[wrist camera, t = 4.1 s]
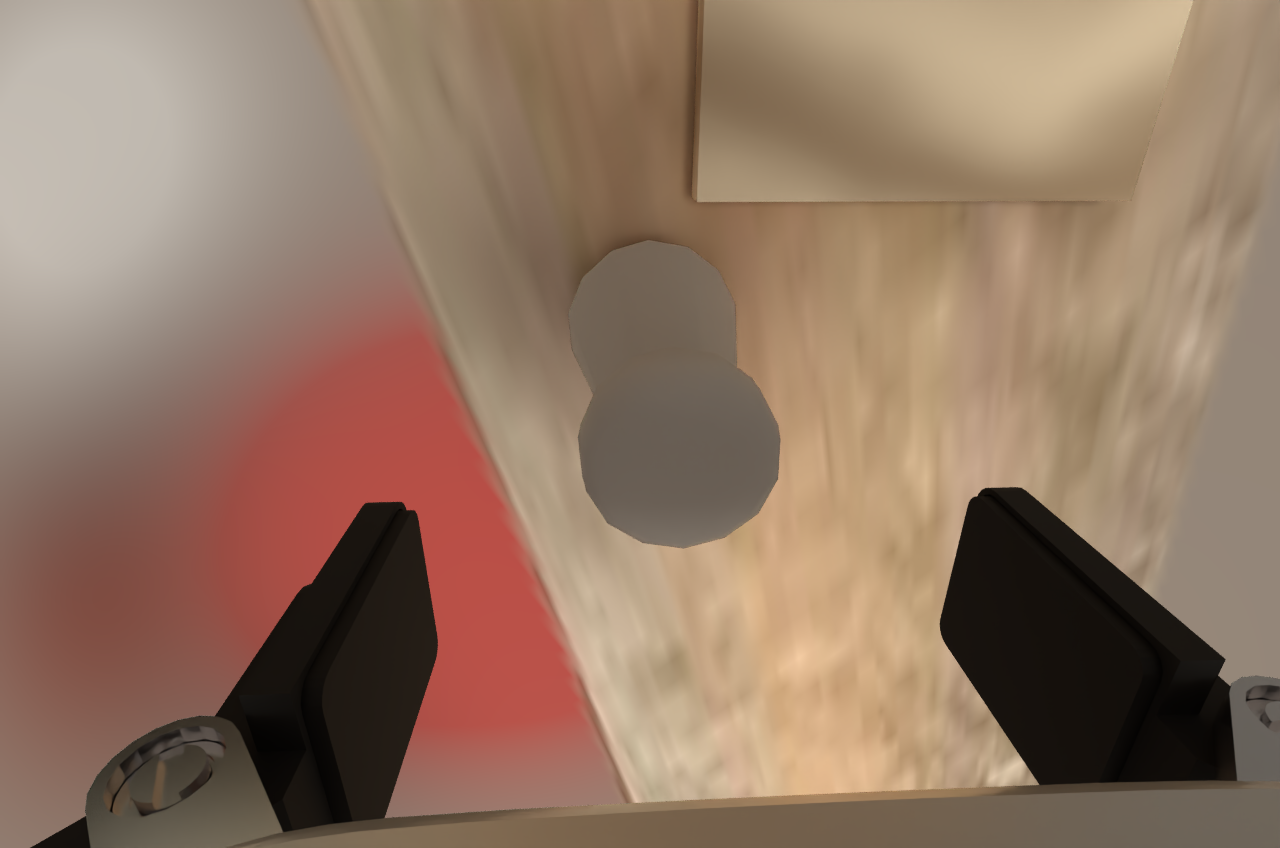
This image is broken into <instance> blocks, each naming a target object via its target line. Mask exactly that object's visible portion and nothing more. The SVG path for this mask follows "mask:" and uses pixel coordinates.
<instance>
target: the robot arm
mask: <svg viewBox="0 0 1280 848" xmlns="http://www.w3.org/2000/svg"><path fill="white" fill-rule="evenodd" d="M940 631H941V635H942V638H943V640H944V642H945V644H946V646H947V647H948V649H949V650H950V652H951V653H952V655H953V656H954V658H955V659H956V661H957V662H958V664H959V665H960V667H961V668H962V670H963V671H964V672H965V674H966V675H967V677H968V678H969V680H970V681H971V683H972V684H973V686H974V687H975V689H976V690H977V692H978V693H979V695H980V696H981V698H982V699H983V701H984V702H985V704H986V705H987V707H988V708H989V710H990V711H991V713H992V714H993V716H994V717H995V719H996V720H997V722H998V723H999V725H1000V726H1001V728H1002V729H1003V731H1004V732H1005V734H1006V735H1007V737H1008V738H1009V740H1010V741H1011V743H1012V744H1013V746H1014V747H1015V749H1016V750H1017V752H1018V753H1019V755H1020V756H1021V758H1022V759H1023V761H1024V762H1025V764H1026V765H1027V767H1028V768H1029V770H1030V771H1031V773H1032V774H1033V776H1034V777H1035V779H1036V780H1037V782H1038V783H1039V785H1030V786H1005V787H979V788H954V789H928V790H905V791H882V792H859V793H837V794H814V795H792V796H770V797H749V798H727V799H705V800H685V801H666V802H646V803H626V804H607V805H588V806H568V807H548V808H529V809H512V810H496V811H483V812H482V811H481V812H466V813H452V814H438V815H423V816H408V817H393V818H385V815H386V812H387V809H388V806H389V803H390V799H391V796H392V793H393V790H394V787H395V784H396V781H397V778H398V775H399V772H400V769H401V765H402V762H403V759H404V756H405V753H406V750H407V747H408V744H409V741H410V738H411V735H412V731H413V728H414V725H415V722H416V719H417V716H418V713H419V710H420V707H421V704H422V700H423V698H424V695H425V691H426V688H427V685H428V682H429V679H430V676H431V673H432V670H433V667H434V663H435V660H436V656H437V648H438V639H437V632H436V625H435V619H434V613H433V608H432V601H431V594H430V588H429V582H428V576H427V570H426V564H425V558H424V552H423V545H422V539H421V533H420V527H419V521H418V516H417V513H416V512H415V511H414V510H406V507H405V505H404V504H403V503H402V502H379V503H378V502H377V503H365V504H364V505H363V506H362V508H361V509H360V511H359V513H358V514H357V516H356V517H355V519H354V520H353V522H352V523H351V525H350V526H349V528H348V529H347V531H346V532H345V534H344V535H343V537H342V538H341V540H340V541H339V543H338V544H337V546H336V548H335V549H334V551H333V552H332V554H331V555H330V557H329V558H328V560H327V561H326V563H325V564H324V566H323V567H322V569H321V571H320V572H319V573H318V575H317V576H316V578H315V579H314V581H313V583H312V584H309V585H307V586H304V587H303V588H302V589H301V590H300V591H299V592H298V594H297V595H296V597H295V598H294V600H293V601H292V602H291V604H290V605H289V607H288V609H287V610H286V611H285V613H284V614H283V616H282V617H281V619H280V620H279V622H278V623H277V625H276V626H275V628H274V629H273V631H272V632H271V634H270V635H269V637H268V638H267V640H266V641H265V643H264V644H263V646H262V647H261V648H260V650H259V652H258V653H257V654H256V656H255V657H254V659H253V660H252V662H251V663H250V665H249V666H248V668H247V670H246V671H245V672H244V674H243V675H242V677H241V678H240V680H239V681H238V683H237V684H236V686H235V687H234V689H233V690H232V692H231V693H230V695H229V696H228V698H227V699H226V700H225V702H224V703H223V705H222V706H221V708H220V710H219V711H218V713H217V714H216V715H215V716H196V717H190V718H185V719H181V720H177V721H174V722H172V723H169V724H166V725H164V726H161V727H159V728H156V729H154V730H152V731H151V732H149V733H147V734H145V735H144V736H142V737H140V738H138V739H137V740H135V741H133V742H132V743H131V744H129V745H128V746H127V747H126V748H124V749H123V750H122V751H120V752H119V753H118V754H117V755H115V756H114V757H113V758H112V759H111V760H110V761H109V762H108V764H107V765H106V766H105V767H104V768H103V769H102V770H101V772H100V773H99V774H98V775H97V776H96V778H95V780H94V782H93V784H92V786H91V788H90V790H89V791H88V793H87V799H86V807H85V813H86V816H85V817H84V818H82V819H80V820H78V821H77V822H75V823H73V824H71V825H70V826H68V827H66V828H64V829H63V830H61V831H59V832H57V833H55V834H54V835H52V836H50V837H48V838H47V839H45V840H43V841H41V842H40V843H38V844H36V845H35V846H33V847H31V848H1280V679H1278V678H1271V677H1263V676H1249V677H1241V678H1240V679H1238V680H1237V681H1235V682H1233V683H1232V684H1231V686H1229V685H1228V684H1227V683H1226V682H1225V681H1224V680H1222V679H1221V678H1220V677H1219V676H1218V674H1219V672H1220V670H1221V668H1222V666H1223V664H1224V662H1225V659H1224V658H1223V657H1222V656H1221V655H1220V654H1219V653H1217V652H1216V651H1215V650H1214V649H1213V648H1211V647H1210V646H1209V645H1208V644H1207V643H1206V642H1204V641H1203V640H1202V639H1201V638H1200V637H1198V636H1197V635H1196V634H1195V633H1194V632H1193V631H1191V630H1190V629H1189V628H1188V627H1187V626H1185V625H1184V624H1183V623H1182V622H1181V621H1179V620H1178V619H1177V618H1176V617H1175V616H1173V615H1172V614H1171V613H1170V612H1169V611H1168V610H1167V609H1165V608H1164V607H1163V606H1162V605H1161V604H1159V603H1158V602H1157V601H1156V600H1155V599H1154V598H1152V597H1151V596H1150V595H1149V594H1148V593H1146V592H1145V591H1144V590H1143V589H1142V588H1141V587H1139V586H1138V585H1137V584H1136V583H1135V582H1133V581H1132V580H1131V579H1130V578H1129V577H1128V576H1126V575H1125V574H1124V573H1123V572H1122V571H1120V570H1119V569H1118V568H1117V567H1116V566H1114V565H1113V564H1112V563H1111V562H1110V561H1109V560H1107V559H1106V558H1105V557H1104V556H1103V555H1101V554H1100V553H1099V552H1098V551H1097V550H1096V549H1094V548H1093V547H1092V546H1091V545H1090V544H1088V543H1087V542H1086V541H1085V540H1084V539H1083V538H1081V537H1080V536H1079V535H1078V534H1077V533H1075V532H1074V531H1073V530H1072V529H1071V528H1070V527H1068V526H1067V525H1066V524H1065V523H1064V522H1062V521H1061V520H1060V519H1059V518H1058V517H1057V516H1055V515H1054V514H1053V513H1052V512H1051V511H1049V510H1048V509H1047V508H1046V507H1045V506H1043V505H1042V504H1041V503H1040V502H1039V501H1038V500H1036V499H1035V498H1034V497H1033V496H1032V495H1030V494H1029V493H1028V492H1027V491H1026V490H1024V489H1022V488H1018V487H1009V488H985V489H983V490H981V492H980V493H979V494H978V497H973V498H972V499H971V500H970V502H969V504H968V508H967V512H966V516H965V520H964V524H963V528H962V532H961V536H960V540H959V545H958V549H957V553H956V557H955V561H954V565H953V569H952V573H951V577H950V582H949V586H948V590H947V594H946V598H945V602H944V606H943V610H942V614H941V619H940Z"/></svg>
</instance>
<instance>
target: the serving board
mask: <svg viewBox="0 0 1280 848" xmlns="http://www.w3.org/2000/svg"><path fill="white" fill-rule="evenodd" d="M1192 3H1193V0H698V25H697V54H696V83H695V112H694V141H693V170H692V198H693V199H694V200H695V201H696V202H908V201H1131V200H1132V197H1133V194H1134V190H1135V187H1136V184H1137V181H1138V177H1139V174H1140V171H1141V168H1142V165H1143V161H1144V158H1145V155H1146V152H1147V148H1148V145H1149V142H1150V139H1151V136H1152V132H1153V129H1154V126H1155V123H1156V119H1157V116H1158V113H1159V110H1160V107H1161V103H1162V100H1163V97H1164V94H1165V90H1166V87H1167V84H1168V81H1169V77H1170V74H1171V71H1172V68H1173V65H1174V61H1175V58H1176V55H1177V52H1178V48H1179V45H1180V42H1181V39H1182V36H1183V32H1184V29H1185V26H1186V23H1187V19H1188V16H1189V13H1190V10H1191V7H1192Z"/></svg>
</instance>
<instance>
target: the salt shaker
mask: <svg viewBox="0 0 1280 848" xmlns="http://www.w3.org/2000/svg"><path fill="white" fill-rule="evenodd" d="M568 317H569V327H570V336H571V345H572V351H573V353H574V355H575V357H576V359H577V361H578V363H579V366H580V368H581V370H582V372H583V374H584V376H585V378H586V380H587V382H588V384H589V386H590V388H591V391H592V393H593V397H592V400H591V402H590V404H589V407H588V409H587V411H586V413H585V416H584V418H583V420H582V423H581V425H580V430H579V435H578V442H579V450H580V459H581V468H582V477H583V481H584V484H585V488H586V491H587V493H588V494H589V496H590V497H591V499H592V500H593V502H594V503H595V505H596V506H597V508H598V509H599V511H600V512H601V514H602V515H603V517H604V518H605V520H606V521H607V523H608V524H610V525H611V526H613V527H615V528H617V529H619V530H620V531H622V532H624V533H626V534H628V535H629V536H631V537H633V538H635V539H637V540H638V541H640V542H642V543H647V544H654V545H662V546H670V547H677V548H687V547H691V546H695V545H698V544H702V543H706V542H710V541H714V540H717V539H721V538H725V537H726V536H727V535H729V534H730V533H732V532H733V531H734V530H736V529H737V528H739V527H740V526H742V525H743V524H744V523H746V522H747V521H749V520H750V519H751V518H753V517H754V516H756V515H757V514H758V513H759V511H760V510H761V508H762V506H763V504H764V503H765V501H766V499H767V497H768V496H769V494H770V492H771V490H772V488H773V487H774V485H775V483H776V481H777V480H778V469H779V454H780V434H779V427H778V423H777V422H776V420H775V418H774V416H773V414H772V412H771V410H770V408H769V406H768V404H767V402H766V400H765V398H764V396H763V394H762V392H761V390H760V389H759V387H758V386H757V384H756V383H755V382H754V380H753V379H752V378H751V377H750V376H748V375H747V374H746V373H744V372H743V371H741V370H740V369H739V368H737V350H736V308H735V302H734V300H733V298H732V296H731V294H730V292H729V290H728V288H727V286H726V284H725V282H724V280H723V278H722V276H721V274H720V272H719V270H717V269H716V268H715V267H714V266H712V265H711V264H710V263H708V262H707V261H706V260H704V259H703V258H702V257H700V256H699V255H698V254H697V253H695V252H694V251H693V250H691V249H690V248H689V247H686V246H680V245H675V244H669V243H663V242H657V241H651V240H646V241H643V242H639V243H636V244H632V245H629V246H626V247H622V248H619V249H615V250H612V251H611V252H610V253H609V254H607V255H606V256H605V257H604V258H603V259H602V260H601V261H600V262H599V263H598V264H597V265H596V266H594V267H593V268H592V269H591V270H590V271H589V272H588V273H587V274H586V275H585V276H584V277H583V278H582V279H581V282H580V285H579V287H578V290H577V292H576V295H575V297H574V300H573V303H572V305H571V308H570V310H569V313H568Z"/></svg>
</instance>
